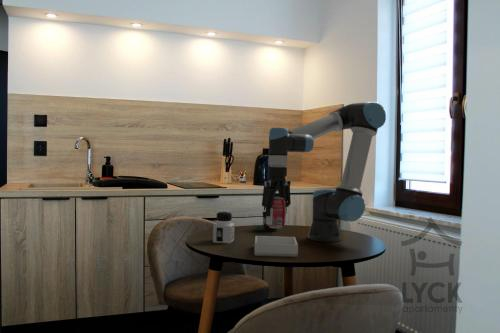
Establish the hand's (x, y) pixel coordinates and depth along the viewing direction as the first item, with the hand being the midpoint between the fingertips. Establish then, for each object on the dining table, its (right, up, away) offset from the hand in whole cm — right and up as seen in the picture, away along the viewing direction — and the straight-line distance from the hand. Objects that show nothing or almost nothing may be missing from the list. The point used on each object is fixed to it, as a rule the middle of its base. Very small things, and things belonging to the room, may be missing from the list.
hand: (275, 223), depth 183 cm
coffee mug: (0, -10, +49) cm, 50 cm away
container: (-22, -10, +18) cm, 30 cm away
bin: (0, -11, 0) cm, 11 cm away
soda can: (0, -2, 0) cm, 2 cm away
